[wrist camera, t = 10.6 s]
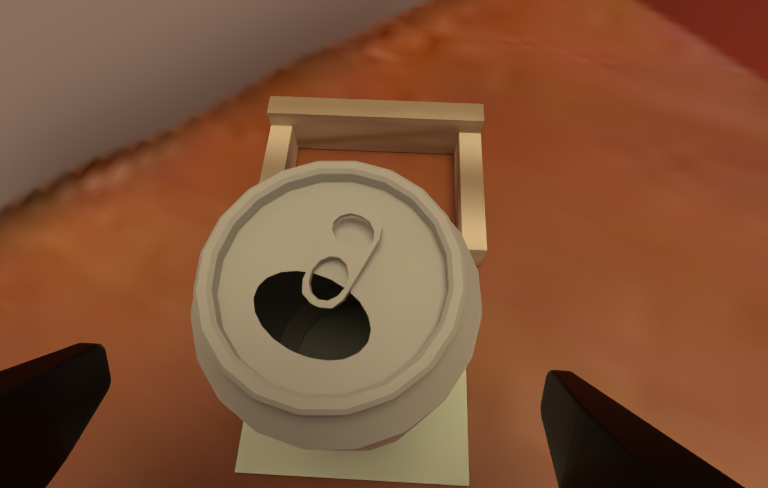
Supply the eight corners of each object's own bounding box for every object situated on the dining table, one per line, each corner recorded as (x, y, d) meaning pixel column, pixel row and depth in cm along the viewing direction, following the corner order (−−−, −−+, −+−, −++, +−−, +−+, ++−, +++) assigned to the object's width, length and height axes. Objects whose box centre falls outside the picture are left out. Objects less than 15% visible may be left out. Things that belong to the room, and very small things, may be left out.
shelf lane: (479, 266, 23) (491, 241, 20) (258, 255, 23) (241, 230, 21) (473, 139, 27) (483, 103, 24) (281, 131, 27) (270, 96, 24)
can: (247, 400, 20) (83, 340, 9) (329, 265, 23) (279, 96, 12) (395, 485, 18) (409, 533, 8) (463, 329, 21) (543, 202, 10)
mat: (467, 485, 19) (469, 486, 18) (237, 472, 19) (234, 472, 19) (461, 269, 23) (463, 266, 23) (273, 261, 23) (272, 258, 23)
